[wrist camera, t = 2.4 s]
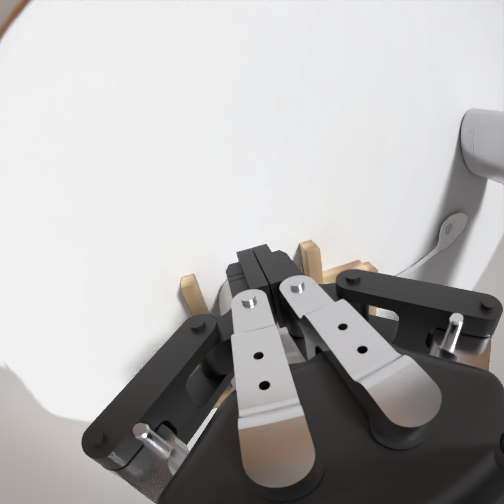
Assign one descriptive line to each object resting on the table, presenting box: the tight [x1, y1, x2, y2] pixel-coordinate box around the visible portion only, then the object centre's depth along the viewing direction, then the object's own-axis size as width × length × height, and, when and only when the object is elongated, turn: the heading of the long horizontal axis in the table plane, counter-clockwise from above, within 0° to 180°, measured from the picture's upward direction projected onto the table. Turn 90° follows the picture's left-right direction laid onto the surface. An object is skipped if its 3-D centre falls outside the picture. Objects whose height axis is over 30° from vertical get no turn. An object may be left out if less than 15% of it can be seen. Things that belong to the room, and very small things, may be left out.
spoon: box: [396, 213, 468, 278], centre depth 29 cm, size 4×21×2 cm, turn 127°
